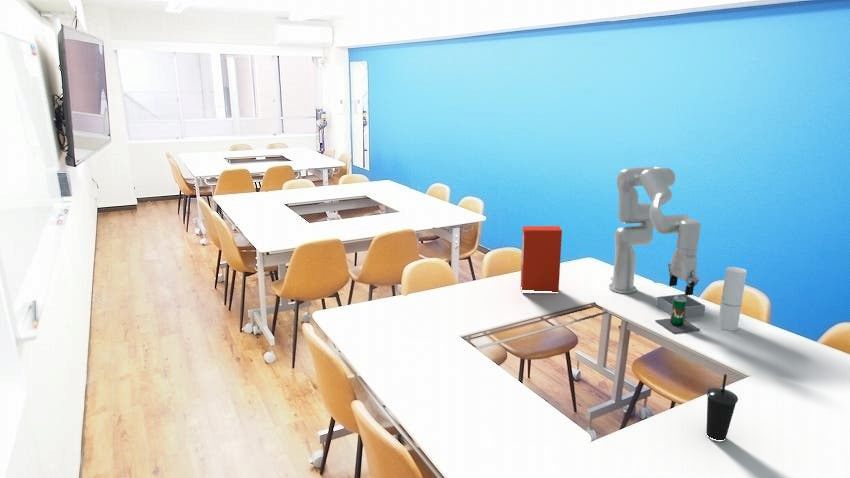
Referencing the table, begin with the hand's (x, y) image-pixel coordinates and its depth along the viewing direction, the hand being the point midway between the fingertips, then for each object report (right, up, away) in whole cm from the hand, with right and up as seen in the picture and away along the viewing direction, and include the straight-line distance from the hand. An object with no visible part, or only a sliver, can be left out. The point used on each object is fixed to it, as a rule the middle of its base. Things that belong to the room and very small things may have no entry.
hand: (680, 290), depth 216 cm
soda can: (0, -15, +4) cm, 15 cm away
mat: (0, -15, +4) cm, 16 cm away
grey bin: (+8, -11, +18) cm, 23 cm away
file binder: (-48, -5, +43) cm, 65 cm away
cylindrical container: (+20, -16, +2) cm, 26 cm away
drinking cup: (-21, -36, -64) cm, 76 cm away
